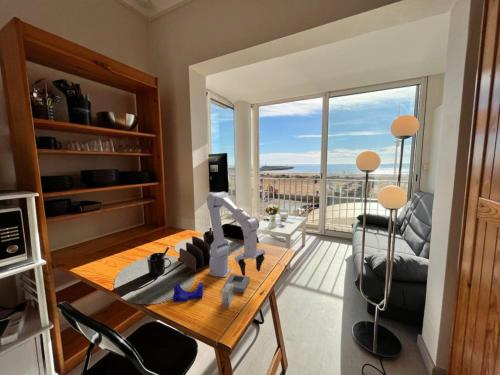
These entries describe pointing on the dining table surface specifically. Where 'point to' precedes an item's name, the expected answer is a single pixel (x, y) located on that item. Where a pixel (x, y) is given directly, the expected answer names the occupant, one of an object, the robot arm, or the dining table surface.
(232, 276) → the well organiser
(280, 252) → the dining table surface
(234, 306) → the dining table surface
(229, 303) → the long block
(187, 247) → the letter holder
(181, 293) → the blue concave cradle block
